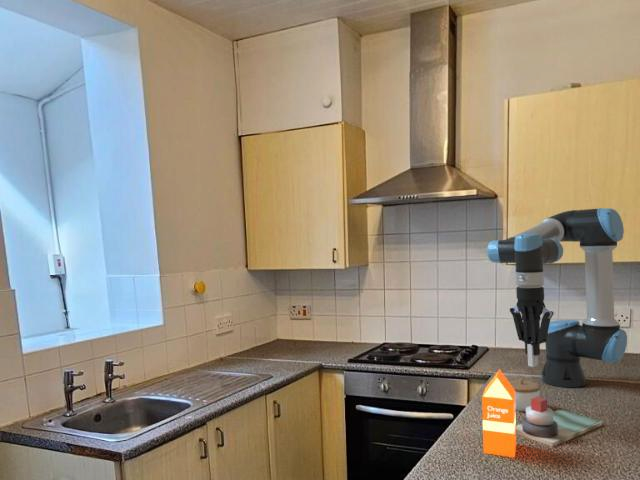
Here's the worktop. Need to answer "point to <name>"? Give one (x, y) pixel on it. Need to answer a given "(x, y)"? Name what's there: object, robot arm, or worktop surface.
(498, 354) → the worktop surface
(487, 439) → the orange juice
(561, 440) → the game board
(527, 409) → the dome
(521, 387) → the lidded jar
